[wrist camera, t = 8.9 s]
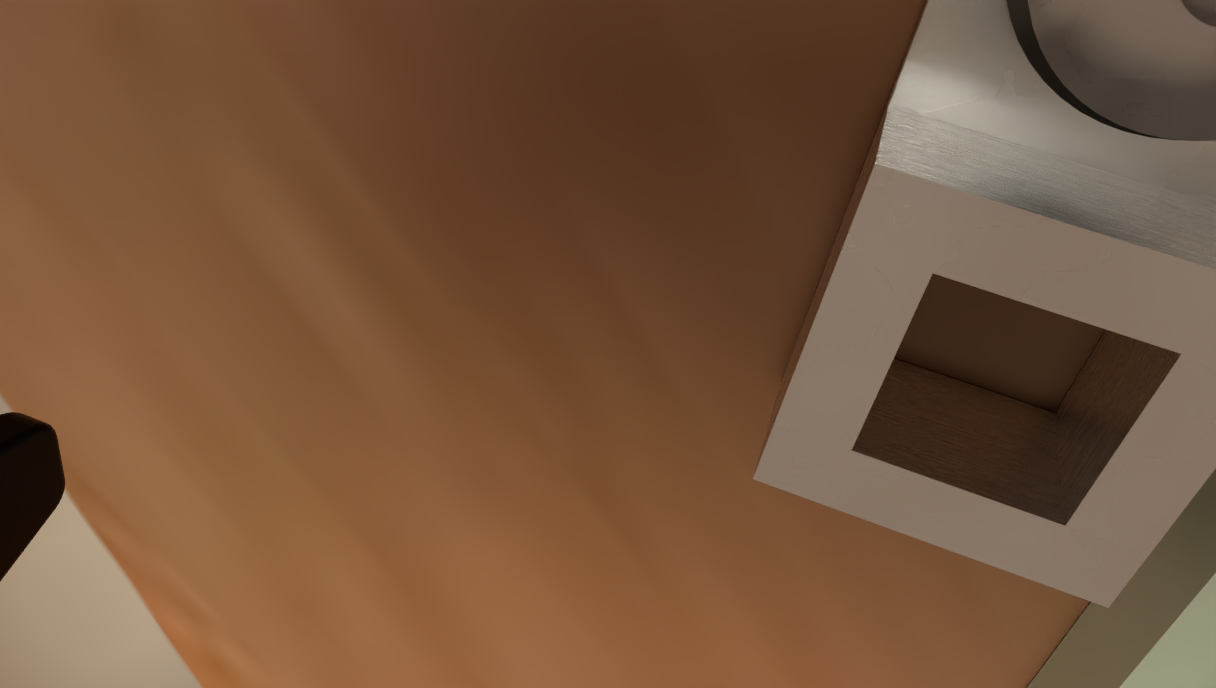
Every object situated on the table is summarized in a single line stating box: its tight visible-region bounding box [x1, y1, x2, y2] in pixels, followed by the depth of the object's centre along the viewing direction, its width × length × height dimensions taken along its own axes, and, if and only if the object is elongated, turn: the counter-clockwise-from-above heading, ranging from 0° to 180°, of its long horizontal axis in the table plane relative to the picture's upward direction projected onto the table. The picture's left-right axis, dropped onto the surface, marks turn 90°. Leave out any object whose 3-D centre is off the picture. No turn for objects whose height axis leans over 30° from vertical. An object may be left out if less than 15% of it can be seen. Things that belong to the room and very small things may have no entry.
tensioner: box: [753, 0, 1216, 608], centre depth 16 cm, size 7×15×4 cm, turn 168°
